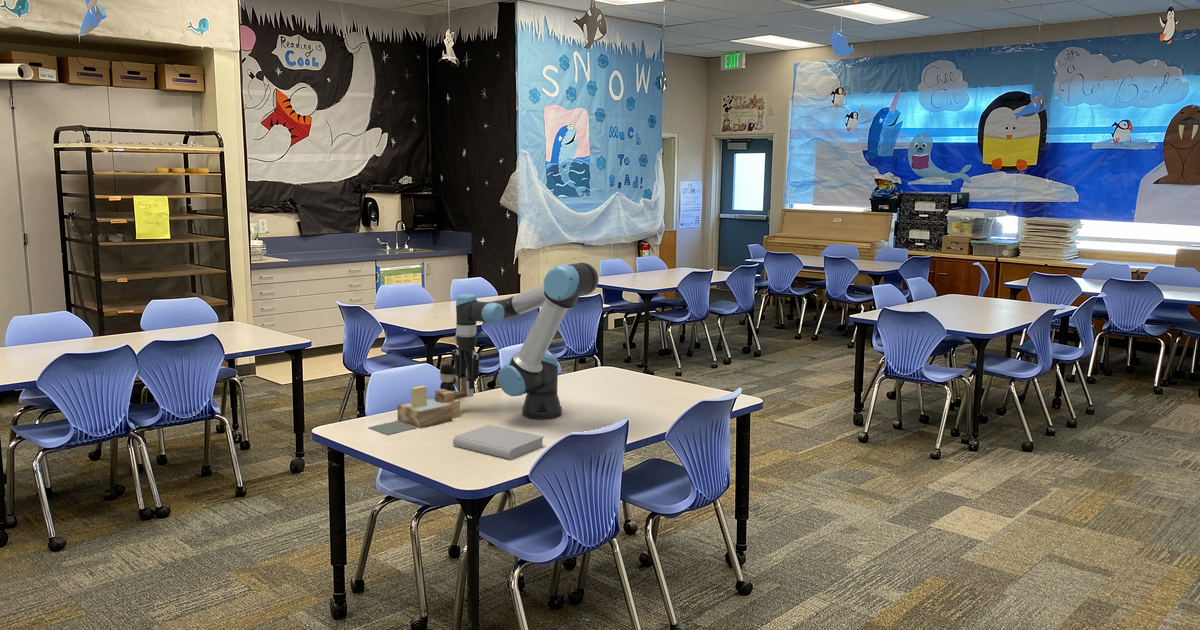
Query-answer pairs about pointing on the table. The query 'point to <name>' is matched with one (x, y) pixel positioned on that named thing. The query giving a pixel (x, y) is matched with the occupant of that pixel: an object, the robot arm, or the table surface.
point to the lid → (422, 400)
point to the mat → (392, 427)
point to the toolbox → (431, 411)
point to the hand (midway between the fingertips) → (466, 395)
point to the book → (498, 441)
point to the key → (459, 393)
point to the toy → (447, 377)
